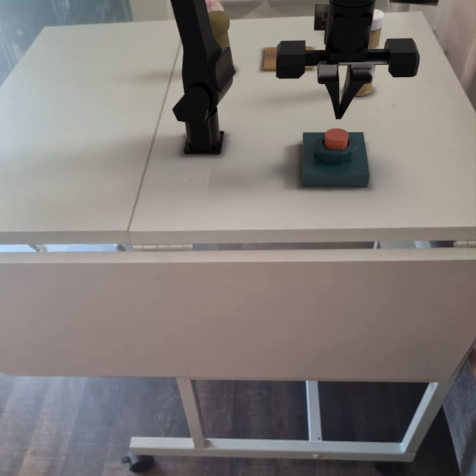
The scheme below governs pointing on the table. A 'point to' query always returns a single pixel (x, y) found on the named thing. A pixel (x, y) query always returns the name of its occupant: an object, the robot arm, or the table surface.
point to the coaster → (271, 59)
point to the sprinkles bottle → (373, 46)
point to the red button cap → (336, 139)
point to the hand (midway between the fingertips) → (338, 117)
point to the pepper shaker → (220, 28)
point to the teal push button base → (334, 162)
